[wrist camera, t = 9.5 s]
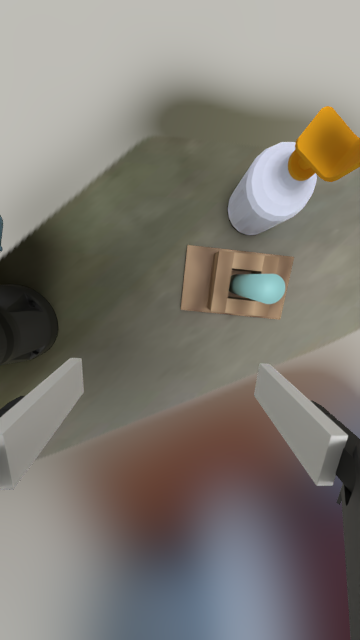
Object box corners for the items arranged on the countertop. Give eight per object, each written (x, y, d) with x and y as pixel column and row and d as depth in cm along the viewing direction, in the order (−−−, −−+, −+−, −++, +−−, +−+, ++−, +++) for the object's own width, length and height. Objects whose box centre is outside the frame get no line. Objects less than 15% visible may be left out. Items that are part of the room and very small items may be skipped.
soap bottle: (250, 168, 33) (441, -107, 9) (286, 205, 35) (532, 48, 11) (216, 212, 35) (306, 72, 11) (252, 246, 36) (403, 187, 12)
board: (180, 308, 39) (181, 314, 33) (187, 246, 36) (189, 240, 30) (277, 318, 39) (293, 325, 34) (290, 257, 37) (310, 254, 31)
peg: (224, 292, 37) (252, 302, 23) (227, 273, 36) (258, 272, 22) (243, 294, 37) (281, 305, 23) (246, 275, 36) (288, 275, 23)
